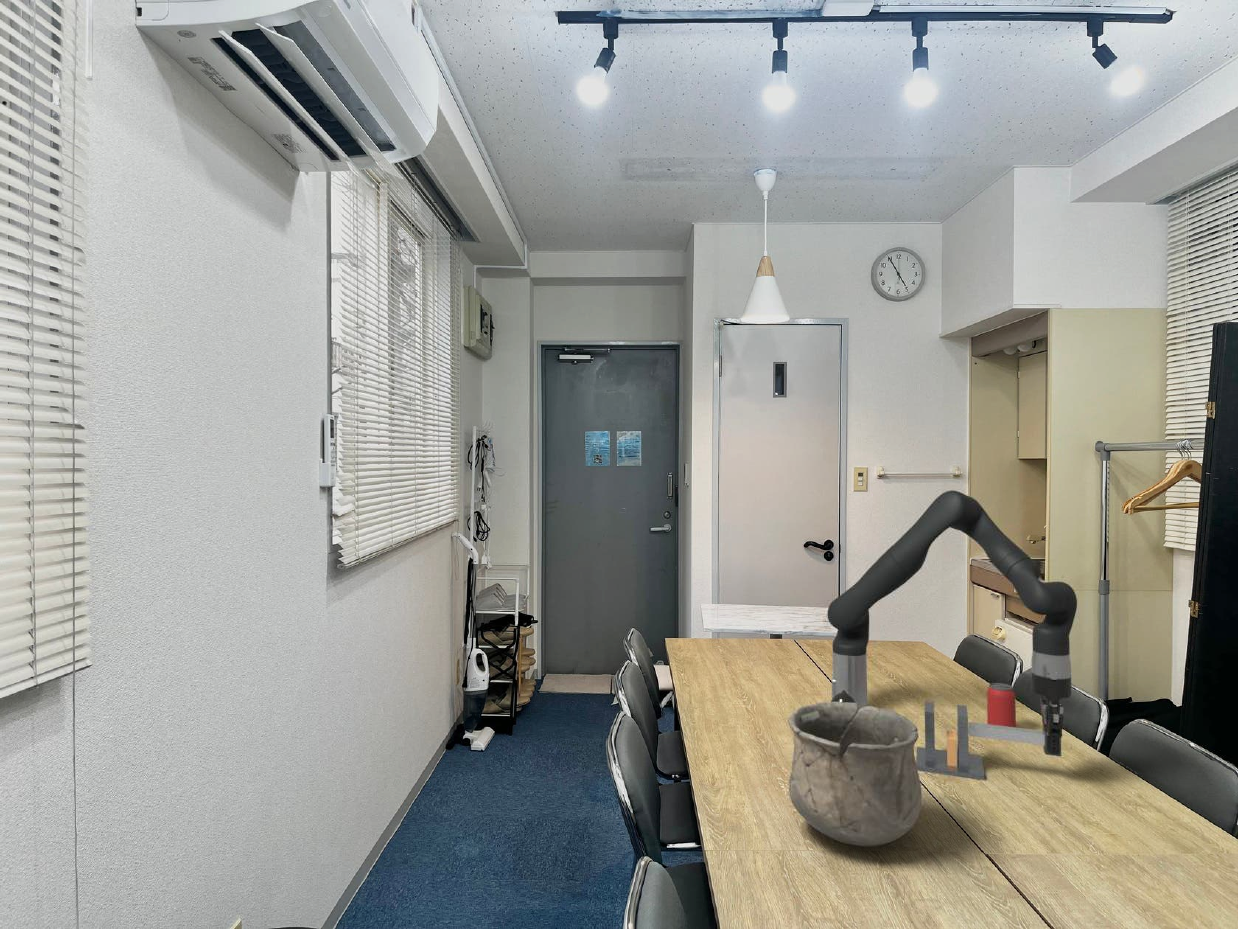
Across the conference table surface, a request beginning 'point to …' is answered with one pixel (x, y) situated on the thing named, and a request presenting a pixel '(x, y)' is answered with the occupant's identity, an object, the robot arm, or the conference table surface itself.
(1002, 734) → the shaft
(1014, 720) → the beer can
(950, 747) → the spacer
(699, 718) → the conference table surface
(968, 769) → the stand
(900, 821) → the pot
